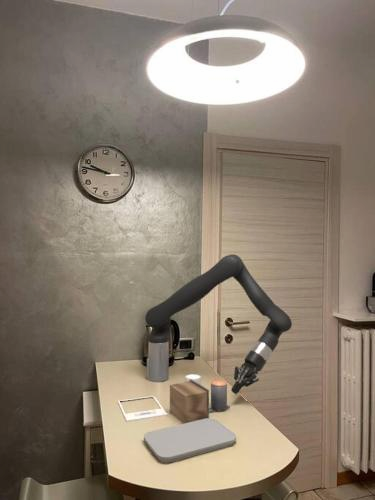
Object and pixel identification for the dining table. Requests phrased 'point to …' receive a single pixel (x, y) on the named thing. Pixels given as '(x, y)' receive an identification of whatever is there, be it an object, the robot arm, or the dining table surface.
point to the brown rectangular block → (190, 402)
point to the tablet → (188, 439)
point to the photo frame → (143, 412)
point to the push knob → (218, 394)
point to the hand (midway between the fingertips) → (233, 392)
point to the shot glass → (193, 378)
